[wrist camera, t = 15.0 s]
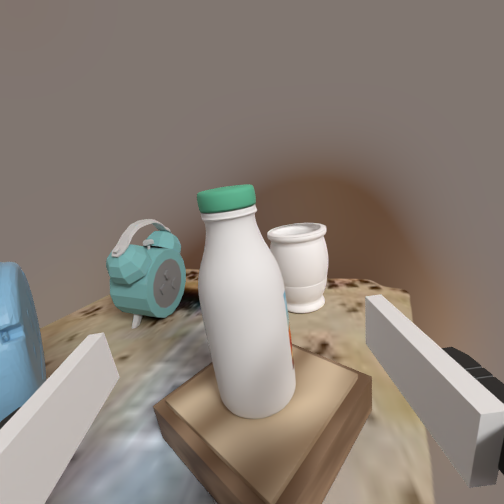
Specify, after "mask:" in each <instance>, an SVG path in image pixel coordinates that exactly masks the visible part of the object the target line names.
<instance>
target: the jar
mask: <svg viewBox="0 0 504 504" xmlns="http://www.w3.org/2000/svg"><path fill="white" fill-rule="evenodd" d="M325 233H326V226H325V225H322V224H317V223H299V224H290V225H285V226H280V227H277V228H274V229H272V230H270V231H269V232H268V235H267V236H268V239H269V240H271V246H270V251H271V252H272V254H273V256H274V257H275V259H276V261H277V263H278V265H279V268H280V271H281V274H282V278H283V282H284V288H285V294H286V301H287V309H288V311H290V312H293V313H309V312H313V311H316V310H318V309H320V308H321V307H322V306H323V305H324V303H325V299H324V297H323V295H322V294H323V292H324V290H325V287H326V281H327V271H328V252H327V246H326V242H325V240H324V237H323V236H324V235H325Z"/></svg>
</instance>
